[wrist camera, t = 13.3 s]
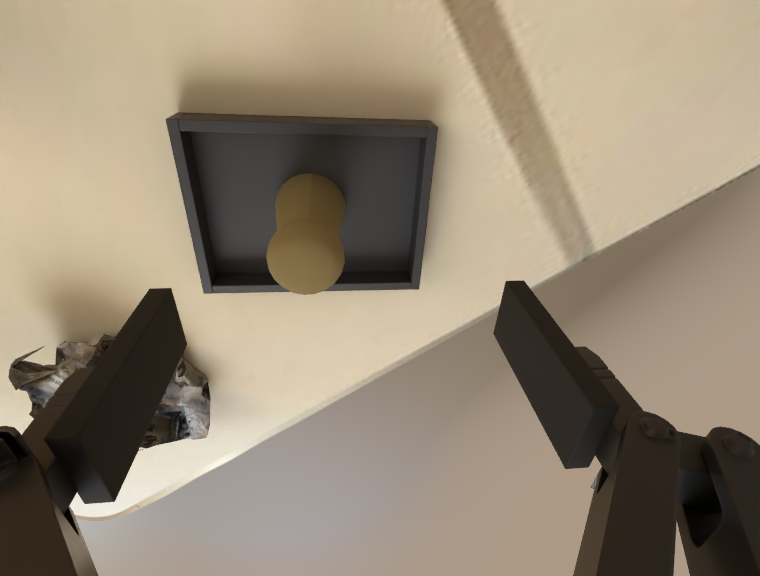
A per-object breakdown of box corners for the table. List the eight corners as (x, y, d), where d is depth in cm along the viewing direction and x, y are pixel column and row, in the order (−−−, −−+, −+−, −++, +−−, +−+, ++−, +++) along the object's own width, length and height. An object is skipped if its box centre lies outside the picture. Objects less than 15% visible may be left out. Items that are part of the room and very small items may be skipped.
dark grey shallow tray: (430, 120, 33) (438, 126, 31) (414, 275, 41) (419, 289, 38) (177, 112, 31) (165, 118, 28) (211, 278, 38) (203, 293, 36)
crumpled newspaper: (125, 461, 46) (-14, 463, 32) (131, 368, 50) (12, 334, 36) (222, 440, 45) (122, 433, 31) (220, 347, 49) (132, 305, 36)
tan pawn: (330, 248, 37) (331, 319, 28) (266, 224, 36) (244, 292, 26) (356, 190, 35) (367, 247, 26) (288, 161, 33) (274, 211, 24)
